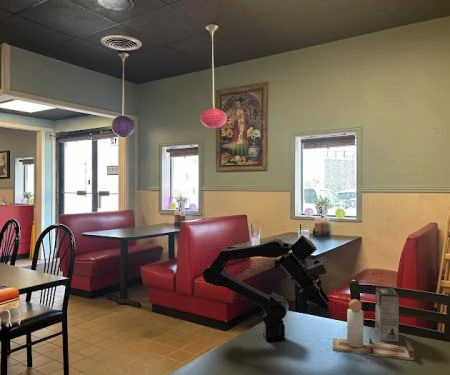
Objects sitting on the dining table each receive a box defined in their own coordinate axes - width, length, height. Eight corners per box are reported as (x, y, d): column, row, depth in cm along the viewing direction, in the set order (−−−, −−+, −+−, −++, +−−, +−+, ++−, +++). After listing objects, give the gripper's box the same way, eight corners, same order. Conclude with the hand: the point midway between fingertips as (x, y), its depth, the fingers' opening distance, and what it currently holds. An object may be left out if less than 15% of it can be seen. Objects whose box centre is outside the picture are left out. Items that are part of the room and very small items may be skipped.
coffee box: (374, 330, 142) (375, 286, 141) (393, 331, 140) (393, 287, 140) (379, 340, 133) (379, 294, 132) (399, 342, 131) (399, 295, 131)
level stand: (332, 350, 125) (332, 342, 125) (333, 339, 133) (333, 331, 133) (414, 360, 118) (414, 351, 118) (409, 348, 126) (409, 340, 126)
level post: (347, 346, 125) (347, 301, 125) (347, 340, 130) (347, 296, 130) (363, 348, 124) (363, 302, 124) (362, 341, 129) (363, 297, 128)
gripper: (310, 259, 121) (346, 297, 118) (314, 248, 139) (346, 281, 136) (285, 282, 124) (320, 320, 121) (292, 268, 142) (323, 301, 139)
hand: (328, 304), depth 129 cm, fingers open, 6 cm apart
